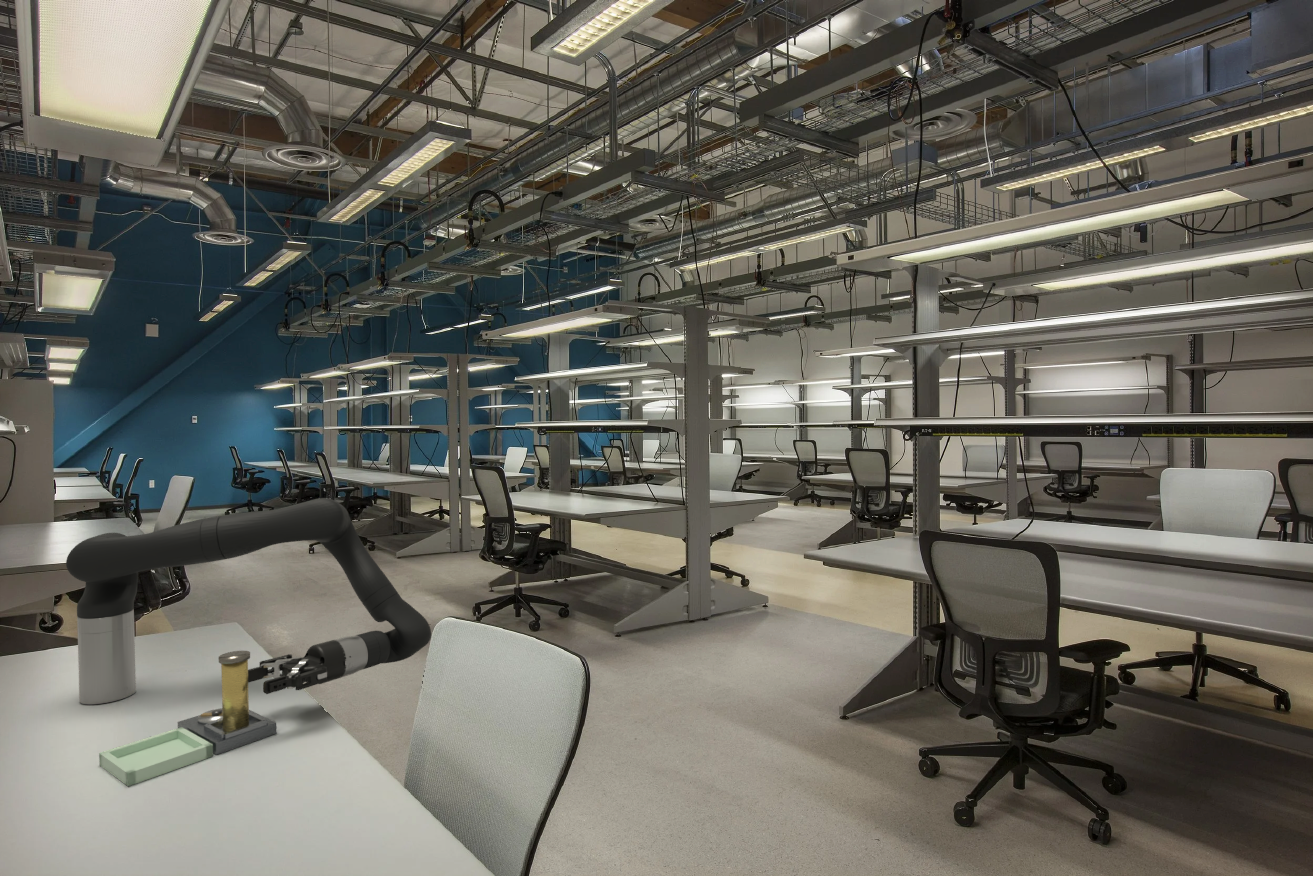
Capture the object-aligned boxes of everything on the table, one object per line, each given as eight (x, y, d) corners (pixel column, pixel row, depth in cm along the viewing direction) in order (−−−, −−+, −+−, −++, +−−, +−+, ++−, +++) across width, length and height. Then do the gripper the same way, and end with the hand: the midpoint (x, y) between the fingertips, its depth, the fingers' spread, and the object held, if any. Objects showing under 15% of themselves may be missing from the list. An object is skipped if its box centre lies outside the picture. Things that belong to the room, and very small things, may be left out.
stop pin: (215, 728, 126) (213, 656, 125) (243, 719, 130) (242, 649, 129) (227, 735, 123) (226, 661, 123) (256, 725, 127) (255, 653, 127)
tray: (99, 765, 117) (99, 753, 117) (181, 738, 126) (181, 727, 126) (128, 786, 110) (127, 773, 110) (212, 756, 120) (212, 744, 120)
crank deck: (177, 733, 129) (177, 716, 129) (236, 714, 137) (236, 698, 137) (216, 755, 120) (215, 736, 120) (276, 733, 128) (276, 716, 128)
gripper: (317, 633, 146) (233, 655, 133) (357, 646, 138) (272, 670, 124) (317, 670, 146) (233, 695, 133) (358, 685, 138) (272, 713, 125)
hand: (252, 683), depth 129 cm, fingers open, 8 cm apart
